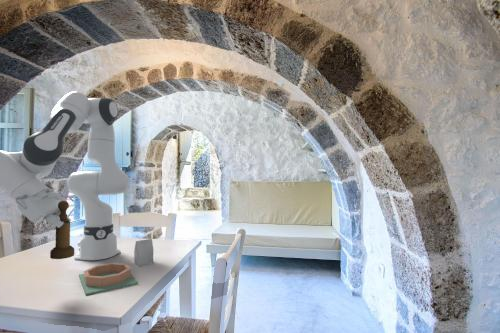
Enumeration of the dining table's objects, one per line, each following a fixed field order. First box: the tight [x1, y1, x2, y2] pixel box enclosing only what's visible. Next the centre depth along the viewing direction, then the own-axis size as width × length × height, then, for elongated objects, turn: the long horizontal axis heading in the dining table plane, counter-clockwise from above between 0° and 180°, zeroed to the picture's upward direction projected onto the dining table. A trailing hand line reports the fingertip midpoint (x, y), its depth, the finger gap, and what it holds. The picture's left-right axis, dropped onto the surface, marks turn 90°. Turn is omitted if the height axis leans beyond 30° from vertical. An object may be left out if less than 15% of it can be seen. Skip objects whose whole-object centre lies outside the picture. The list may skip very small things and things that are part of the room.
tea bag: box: [133, 238, 154, 267], centre depth 122 cm, size 4×7×10 cm, turn 130°
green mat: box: [78, 272, 139, 296], centre depth 104 cm, size 20×16×1 cm
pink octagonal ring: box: [83, 262, 132, 287], centre depth 104 cm, size 14×14×3 cm
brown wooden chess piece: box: [49, 200, 75, 260], centre depth 94 cm, size 7×6×18 cm
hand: (65, 224), depth 94 cm, fingers closed on brown wooden chess piece, 4 cm apart
